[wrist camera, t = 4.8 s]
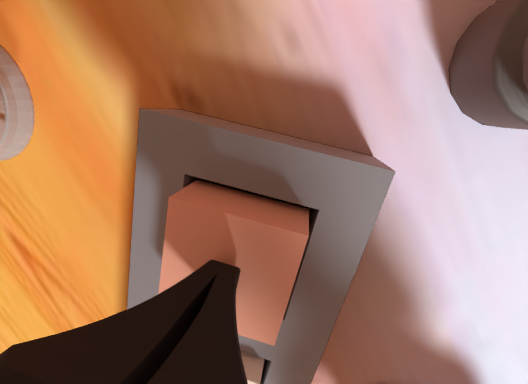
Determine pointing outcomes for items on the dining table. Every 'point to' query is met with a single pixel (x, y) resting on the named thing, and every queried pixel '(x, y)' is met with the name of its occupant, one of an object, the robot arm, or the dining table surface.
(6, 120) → the glass holder
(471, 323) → the dining table surface
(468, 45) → the candle holder
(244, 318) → the terracotta key
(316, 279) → the key panel
